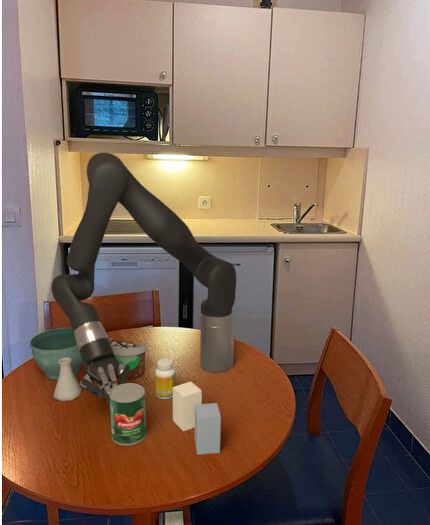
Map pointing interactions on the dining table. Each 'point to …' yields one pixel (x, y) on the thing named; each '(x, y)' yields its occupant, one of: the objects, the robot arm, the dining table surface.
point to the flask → (66, 382)
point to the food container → (130, 357)
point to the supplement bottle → (164, 379)
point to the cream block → (185, 404)
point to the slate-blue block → (207, 428)
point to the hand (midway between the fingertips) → (117, 410)
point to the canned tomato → (128, 413)
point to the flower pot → (55, 351)
